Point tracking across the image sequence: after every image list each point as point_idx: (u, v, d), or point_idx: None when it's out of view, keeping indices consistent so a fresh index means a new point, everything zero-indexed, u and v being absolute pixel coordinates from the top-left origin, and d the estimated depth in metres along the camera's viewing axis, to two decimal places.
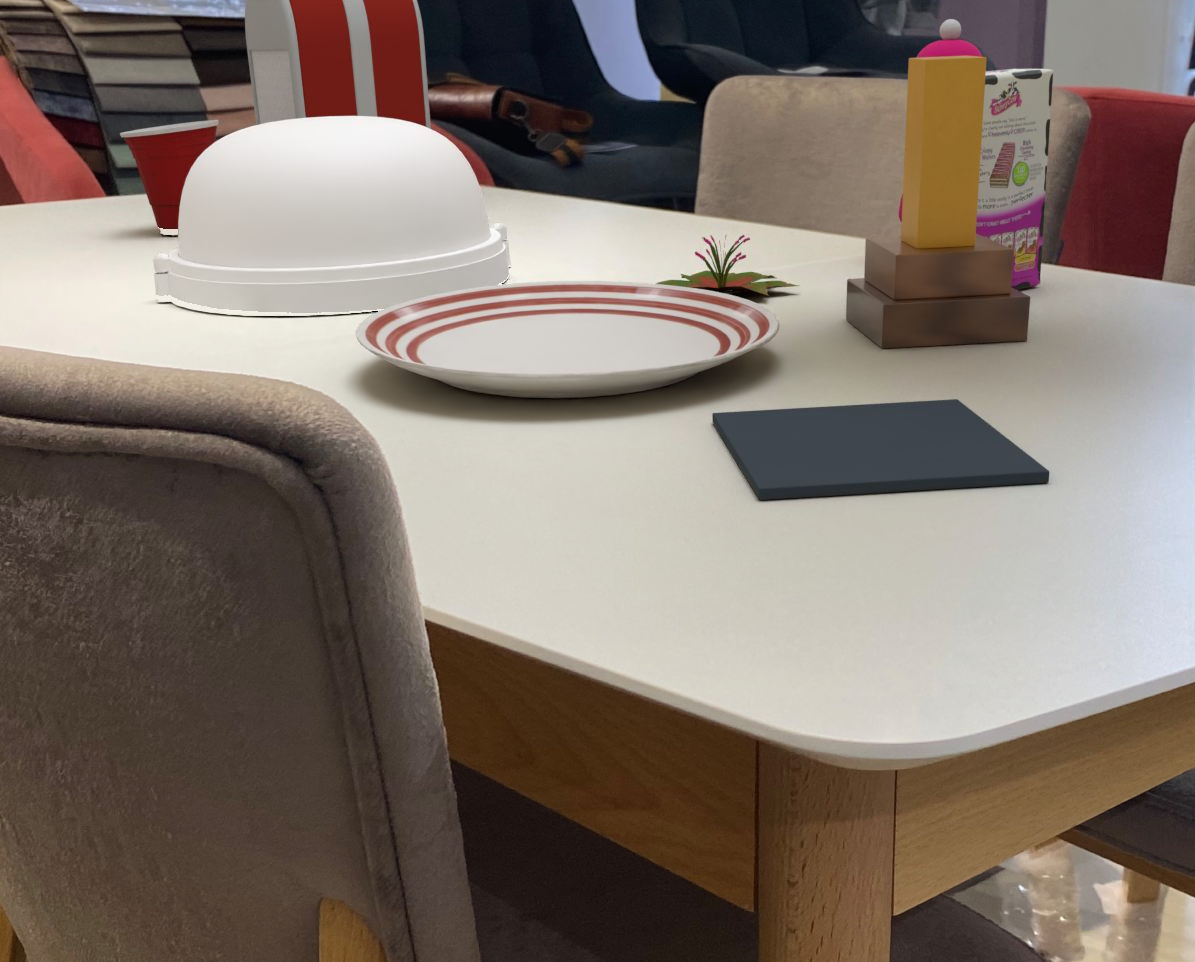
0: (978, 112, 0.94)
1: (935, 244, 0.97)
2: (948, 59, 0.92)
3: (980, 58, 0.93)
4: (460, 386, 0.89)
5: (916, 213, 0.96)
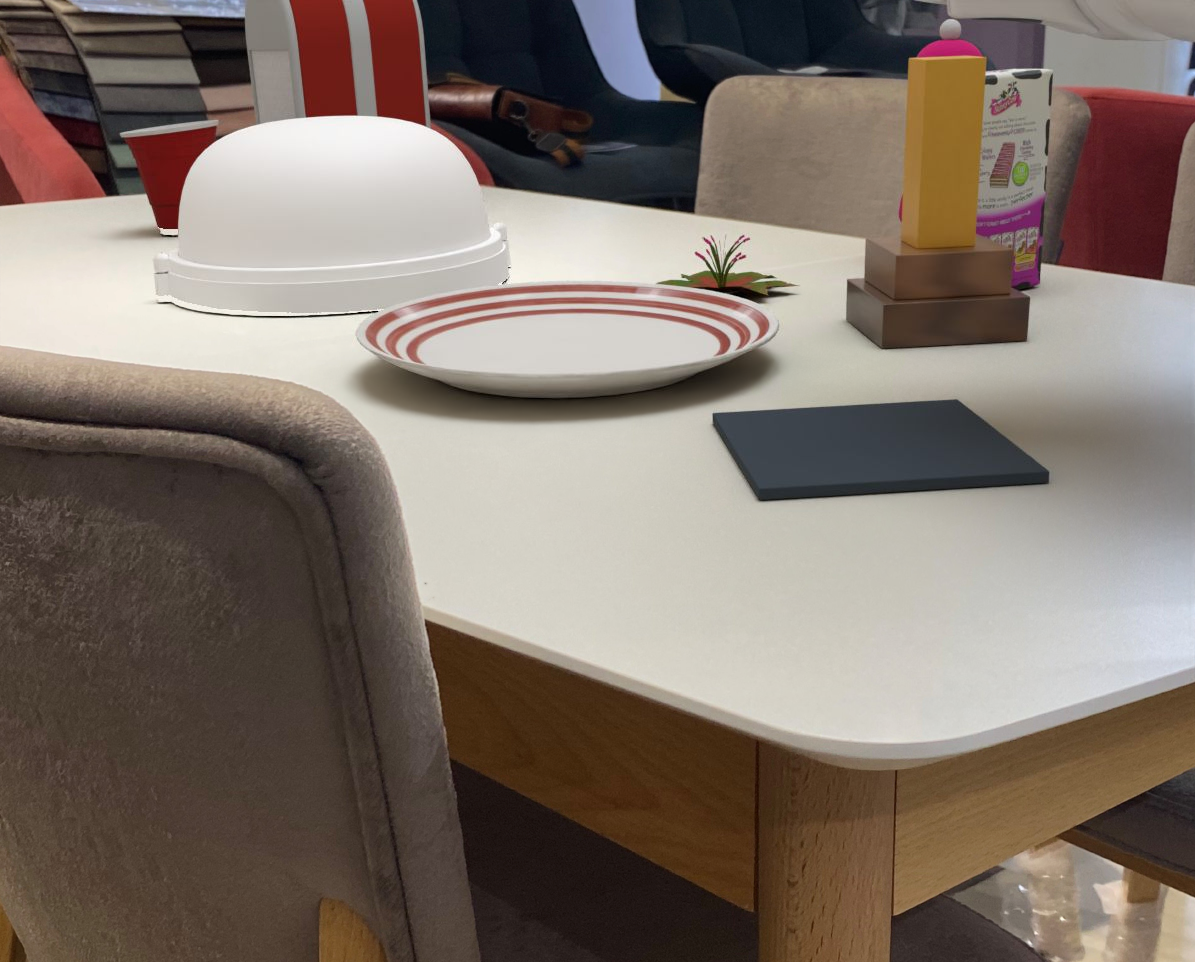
0: (978, 112, 0.94)
1: (935, 244, 0.97)
2: (948, 59, 0.92)
3: (980, 58, 0.93)
4: (460, 386, 0.89)
5: (916, 213, 0.96)
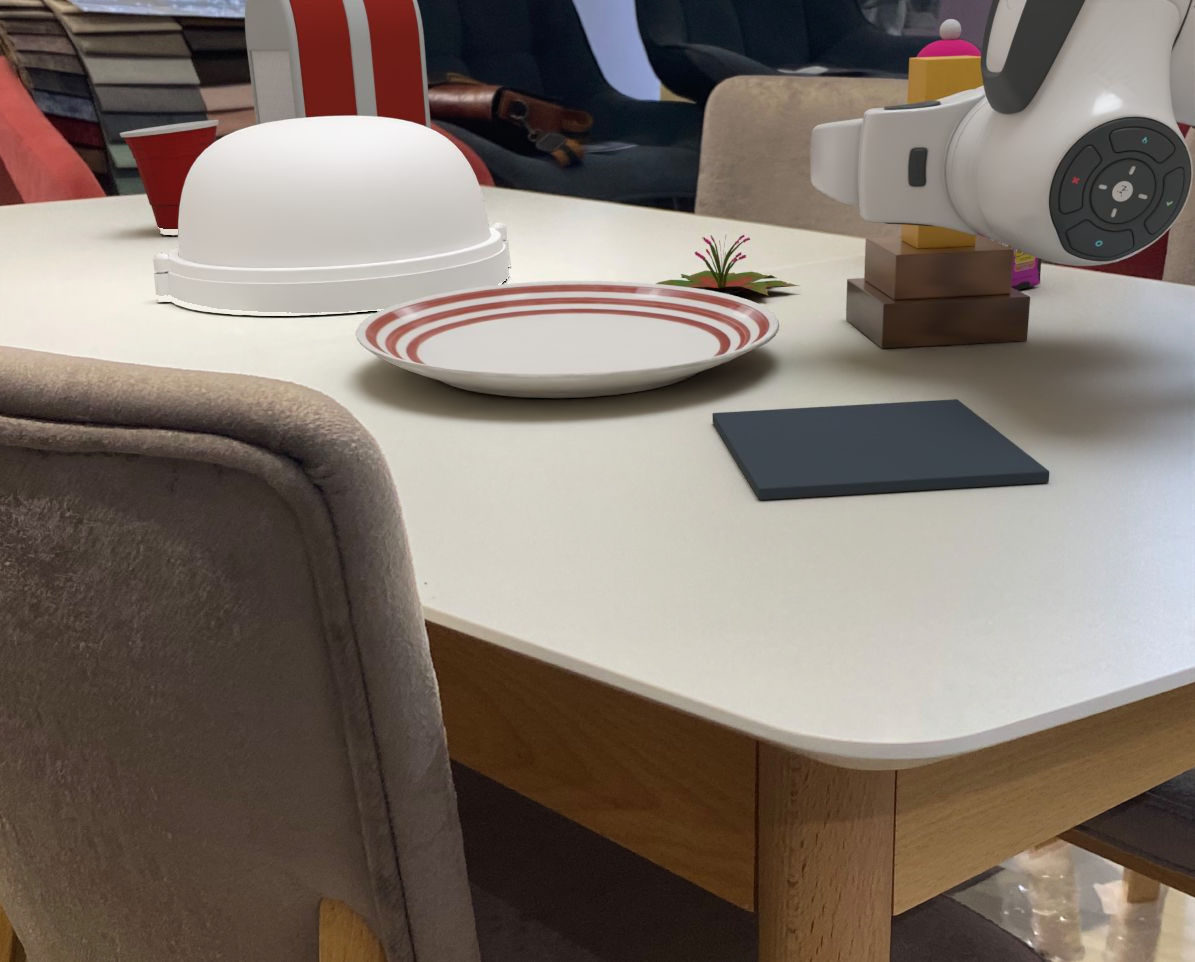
0: None
1: (935, 244, 0.97)
2: (949, 59, 0.92)
3: None
4: (460, 386, 0.89)
5: None
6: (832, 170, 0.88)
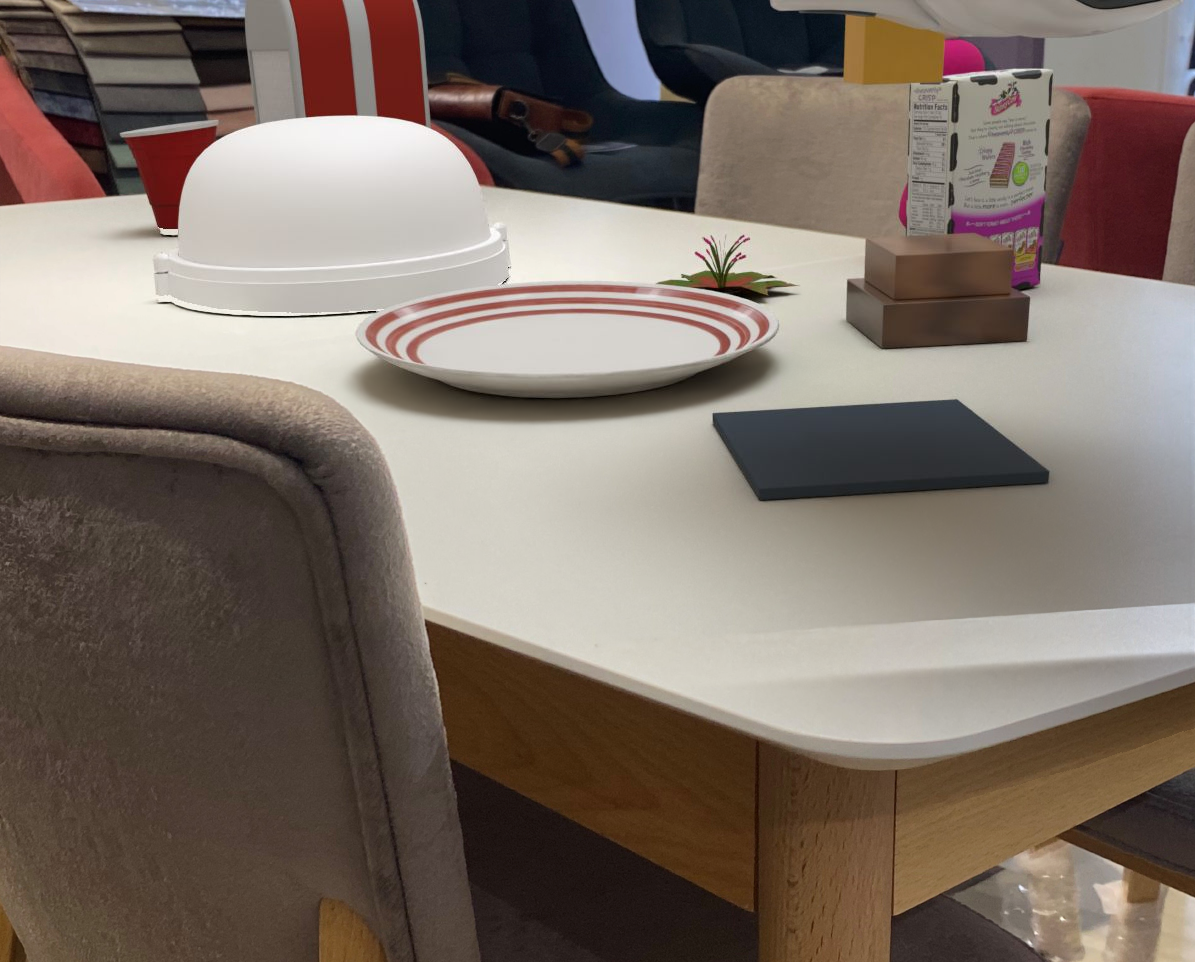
0: None
1: (887, 79, 0.70)
2: None
3: None
4: (460, 386, 0.89)
5: (861, 34, 0.70)
6: None
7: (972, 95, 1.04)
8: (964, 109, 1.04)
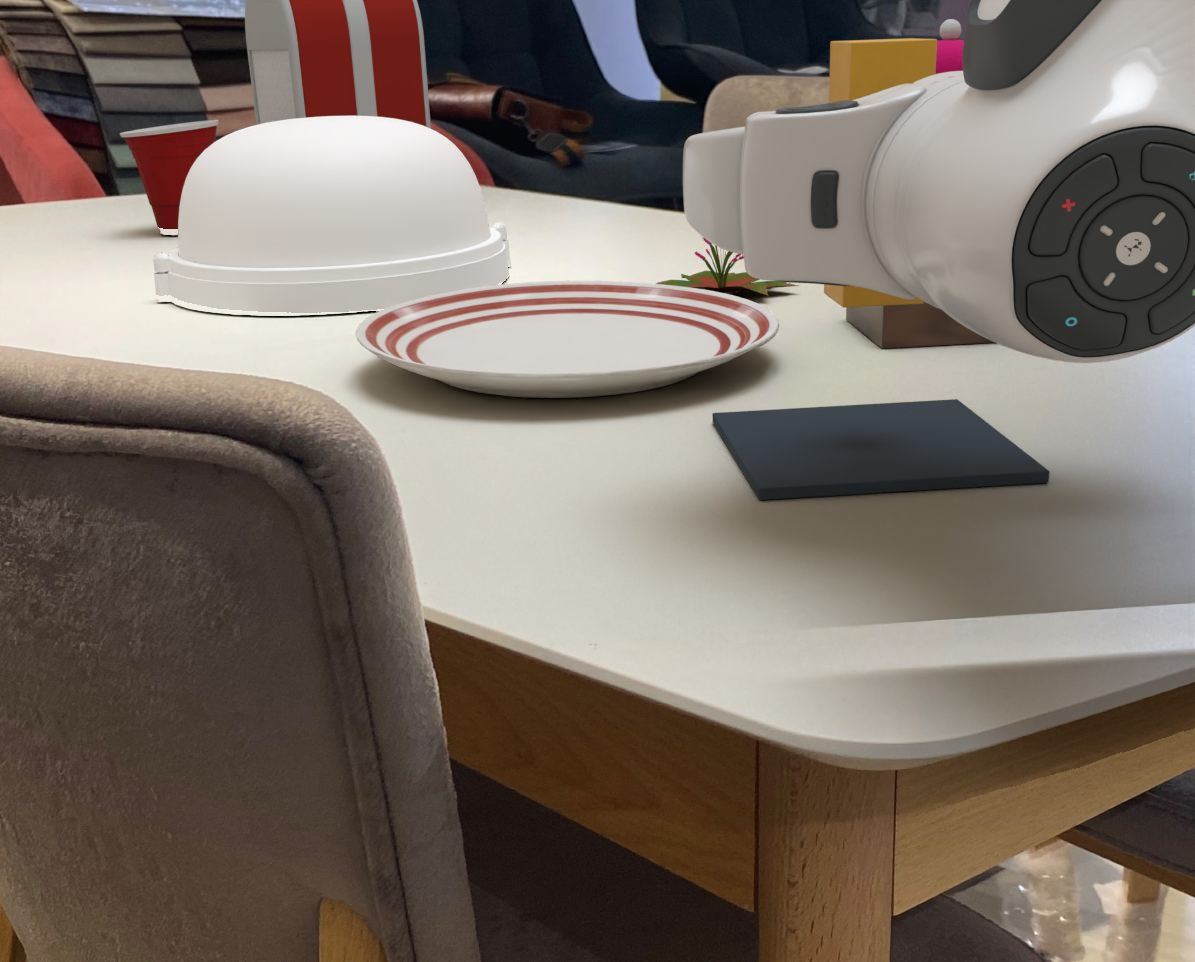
0: None
1: (867, 302, 0.69)
2: (882, 42, 0.65)
3: (928, 41, 0.65)
4: (460, 386, 0.89)
5: None
6: (707, 201, 0.60)
7: None
8: None
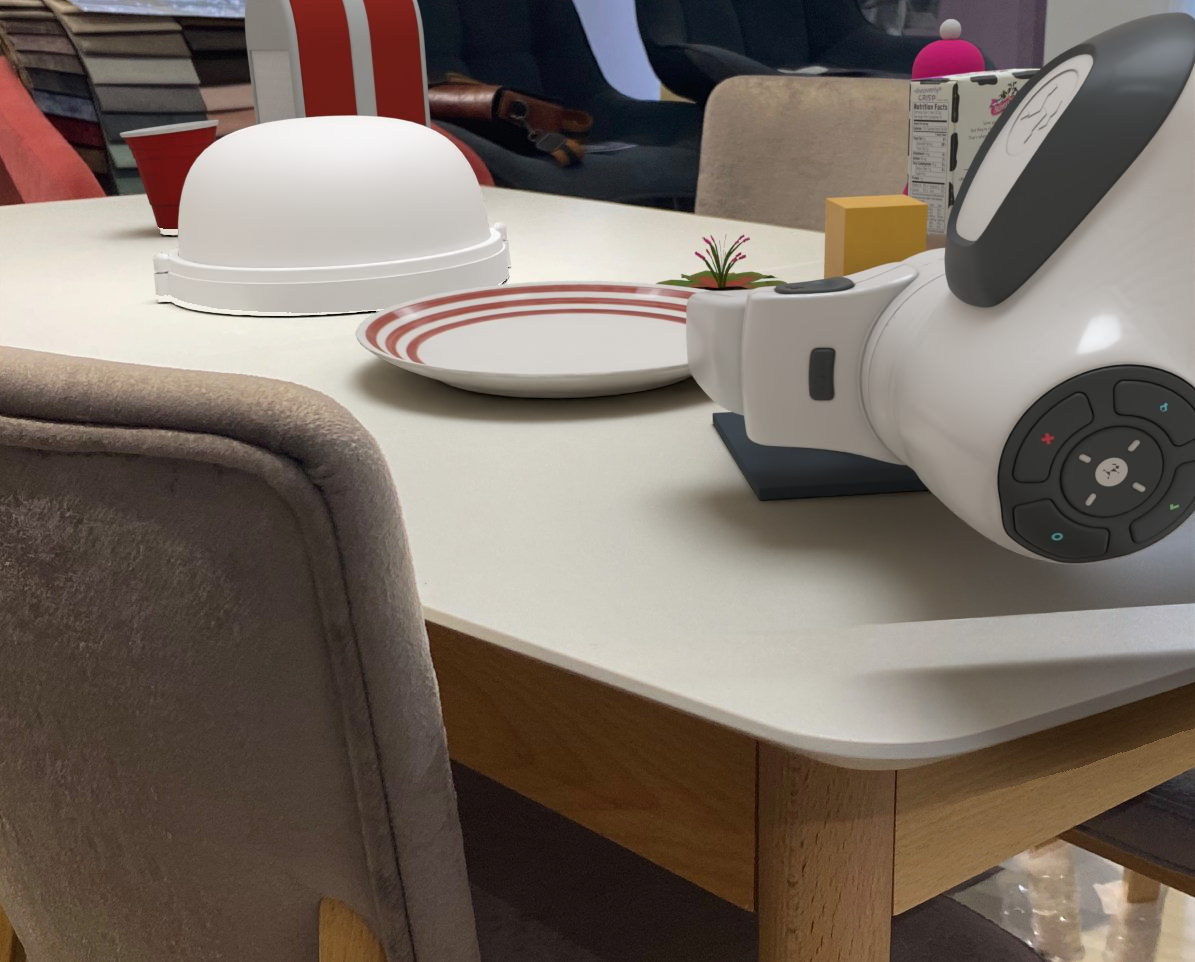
0: None
1: None
2: (875, 207, 0.68)
3: (919, 205, 0.68)
4: (460, 386, 0.89)
5: None
6: (710, 363, 0.63)
7: (972, 95, 1.04)
8: (964, 109, 1.04)
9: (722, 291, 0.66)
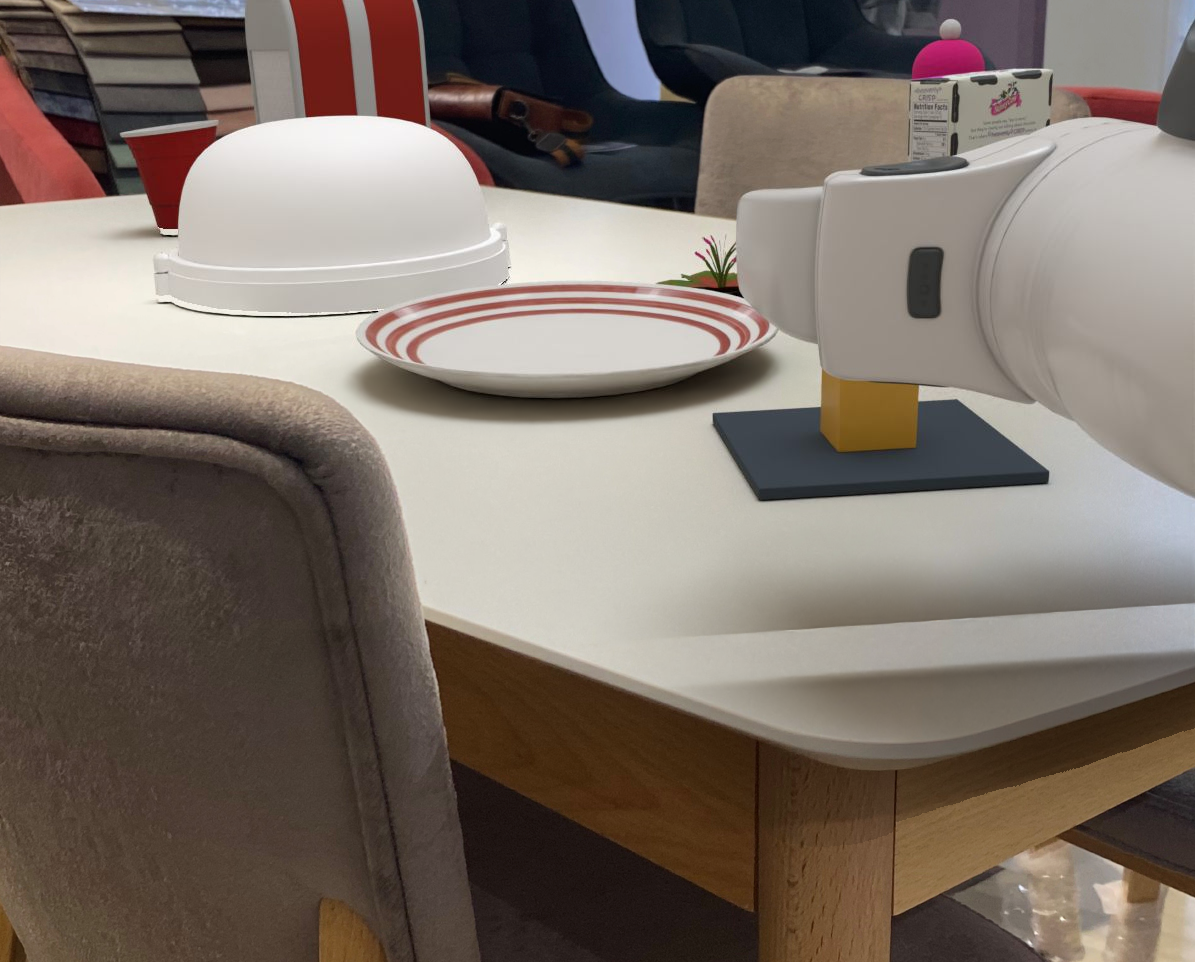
0: None
1: (862, 447, 0.72)
2: None
3: None
4: (460, 386, 0.89)
5: (836, 405, 0.72)
6: (771, 277, 0.49)
7: (972, 95, 1.04)
8: (964, 108, 1.04)
9: None
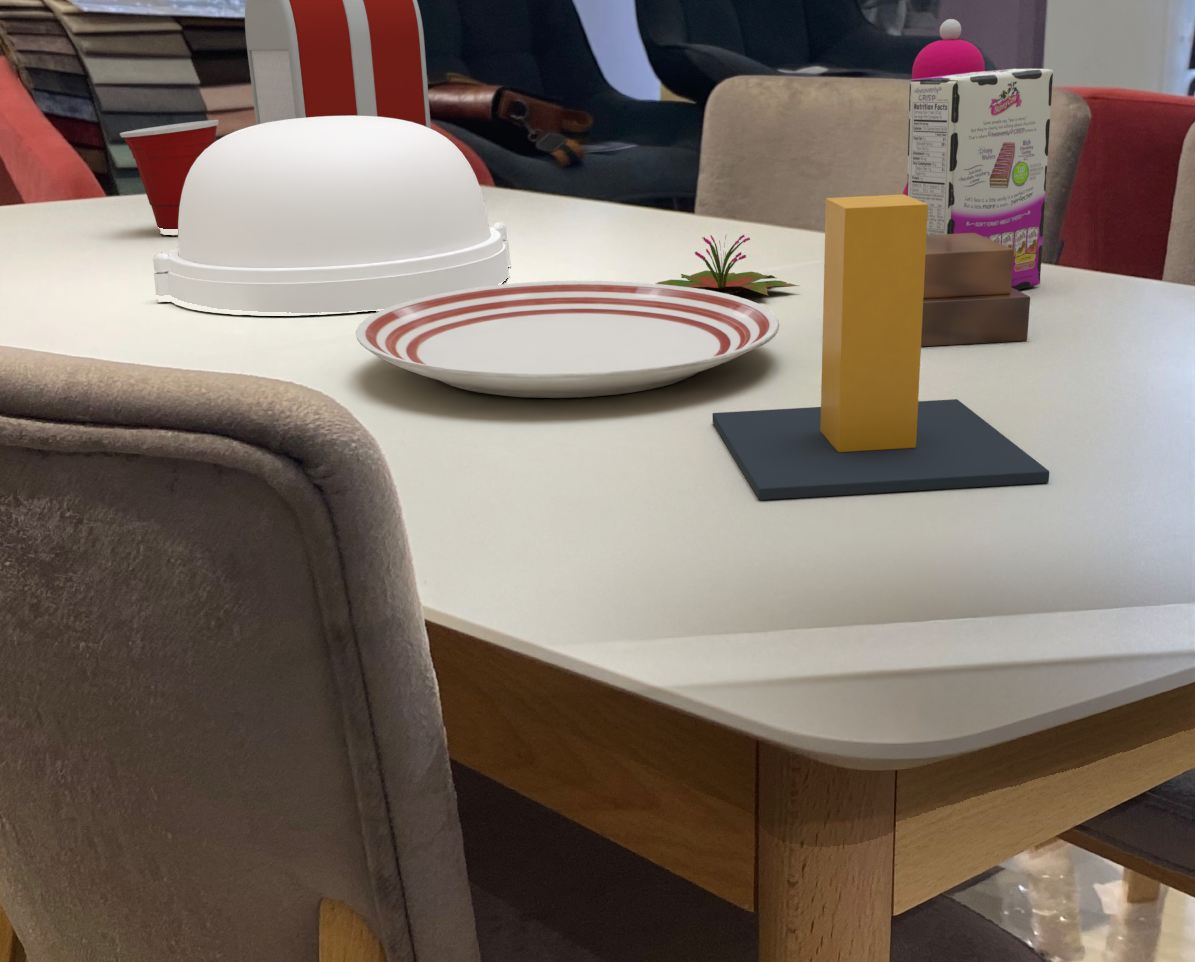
0: (917, 276, 0.69)
1: (862, 447, 0.72)
2: (875, 207, 0.68)
3: (919, 205, 0.68)
4: (460, 386, 0.89)
5: (836, 405, 0.72)
6: None
7: (972, 95, 1.04)
8: (964, 109, 1.04)
9: None
